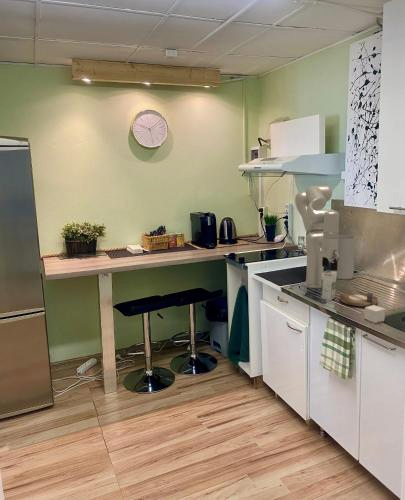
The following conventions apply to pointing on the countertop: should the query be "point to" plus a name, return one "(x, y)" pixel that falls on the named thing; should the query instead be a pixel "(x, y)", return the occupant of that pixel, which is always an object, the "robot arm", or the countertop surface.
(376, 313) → the white cube
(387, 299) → the countertop surface
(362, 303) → the turntable
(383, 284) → the countertop surface
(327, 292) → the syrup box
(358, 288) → the countertop surface
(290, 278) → the countertop surface
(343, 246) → the cylinder vase
